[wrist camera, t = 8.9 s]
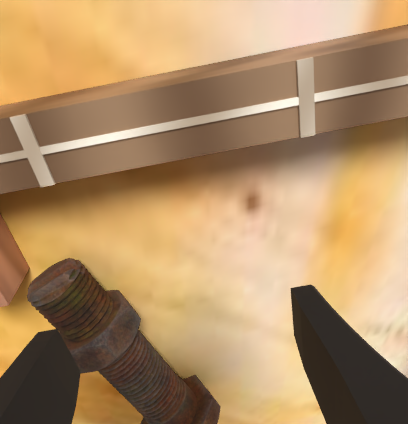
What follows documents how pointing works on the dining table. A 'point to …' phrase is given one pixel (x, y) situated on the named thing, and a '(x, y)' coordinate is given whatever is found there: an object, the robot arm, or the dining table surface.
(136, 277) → the dining table surface
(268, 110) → the walnut fence
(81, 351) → the bolt
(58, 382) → the robot arm
